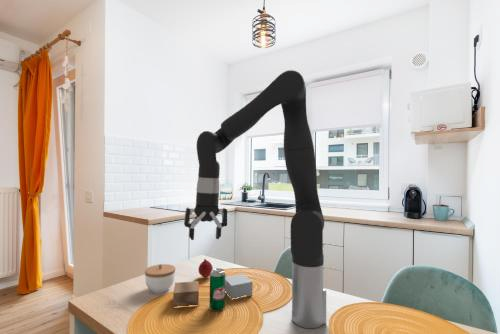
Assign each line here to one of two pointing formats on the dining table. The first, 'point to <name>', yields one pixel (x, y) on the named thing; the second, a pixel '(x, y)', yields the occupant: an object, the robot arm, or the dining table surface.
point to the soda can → (217, 289)
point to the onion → (205, 268)
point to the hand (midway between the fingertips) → (205, 238)
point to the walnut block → (186, 294)
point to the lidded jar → (159, 277)
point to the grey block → (238, 286)
